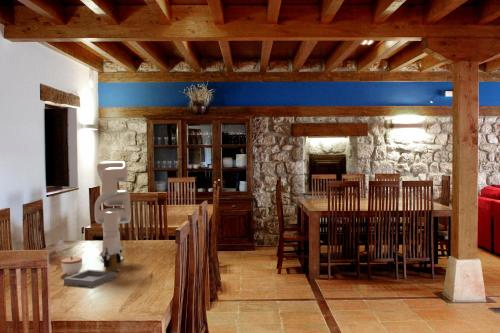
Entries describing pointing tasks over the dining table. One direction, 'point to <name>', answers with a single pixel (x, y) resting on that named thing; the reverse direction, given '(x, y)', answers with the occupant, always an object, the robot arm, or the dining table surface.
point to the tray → (90, 278)
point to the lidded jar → (71, 265)
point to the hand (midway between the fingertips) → (112, 264)
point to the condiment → (112, 264)
